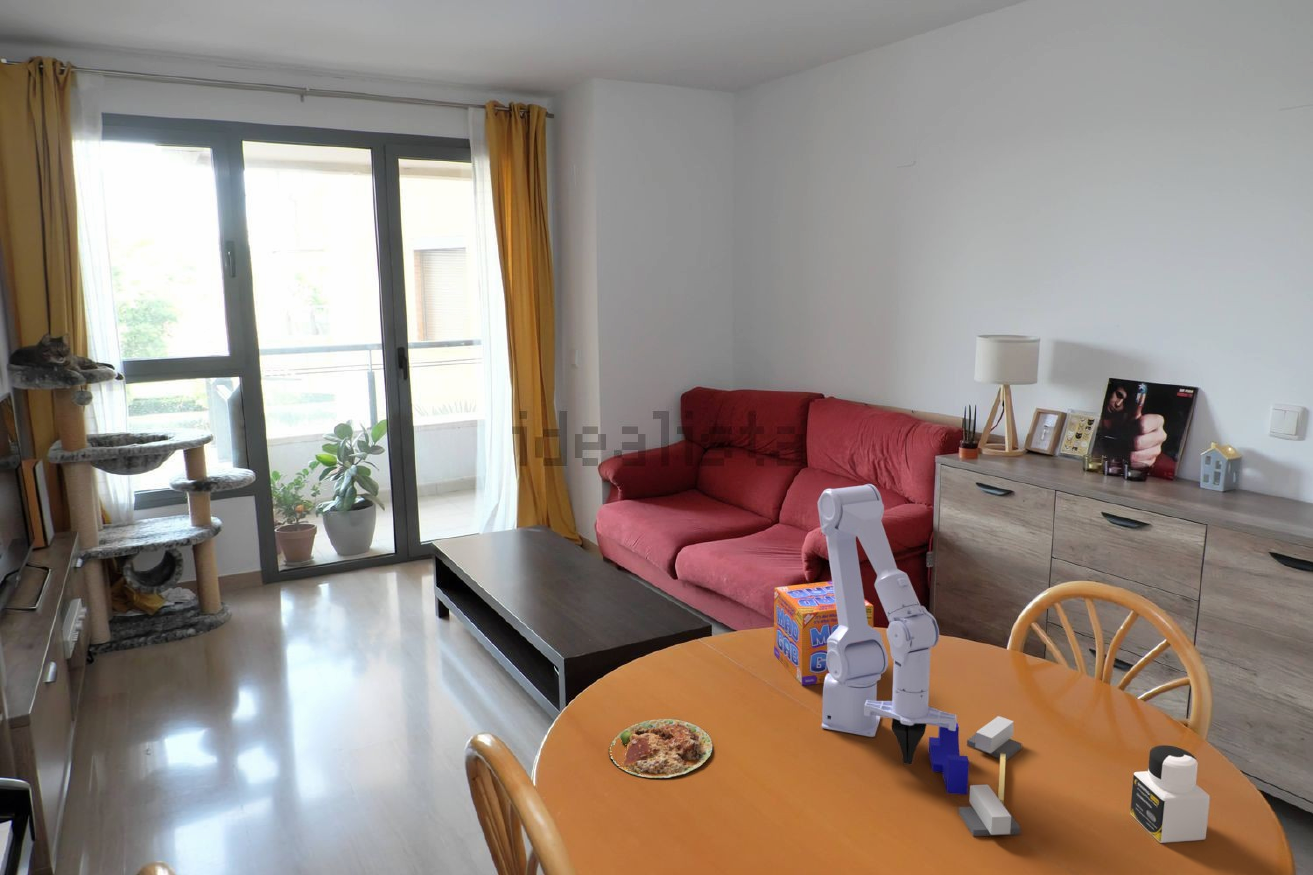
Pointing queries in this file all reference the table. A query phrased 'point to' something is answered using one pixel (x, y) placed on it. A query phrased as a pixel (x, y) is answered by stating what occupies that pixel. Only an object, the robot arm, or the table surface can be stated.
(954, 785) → the blue piece
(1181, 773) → the medicine bottle
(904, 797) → the table surface
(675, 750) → the food
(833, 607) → the game box
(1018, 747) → the shaft rig
